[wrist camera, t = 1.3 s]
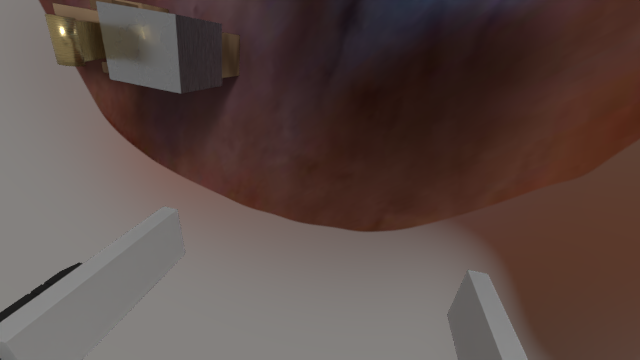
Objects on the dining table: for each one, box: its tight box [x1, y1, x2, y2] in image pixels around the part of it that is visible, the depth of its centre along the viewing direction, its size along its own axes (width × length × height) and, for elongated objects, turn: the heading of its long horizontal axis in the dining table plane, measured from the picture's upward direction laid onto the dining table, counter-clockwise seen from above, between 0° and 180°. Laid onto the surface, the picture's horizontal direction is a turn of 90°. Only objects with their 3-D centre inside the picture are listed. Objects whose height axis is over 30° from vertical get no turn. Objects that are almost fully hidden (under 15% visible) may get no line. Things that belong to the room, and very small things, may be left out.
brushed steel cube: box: [96, 1, 222, 94], centre depth 26 cm, size 6×7×7 cm
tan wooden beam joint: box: [53, 0, 240, 78], centre depth 30 cm, size 7×20×7 cm, turn 81°
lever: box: [45, 14, 106, 66], centre depth 24 cm, size 4×2×11 cm, turn 171°
